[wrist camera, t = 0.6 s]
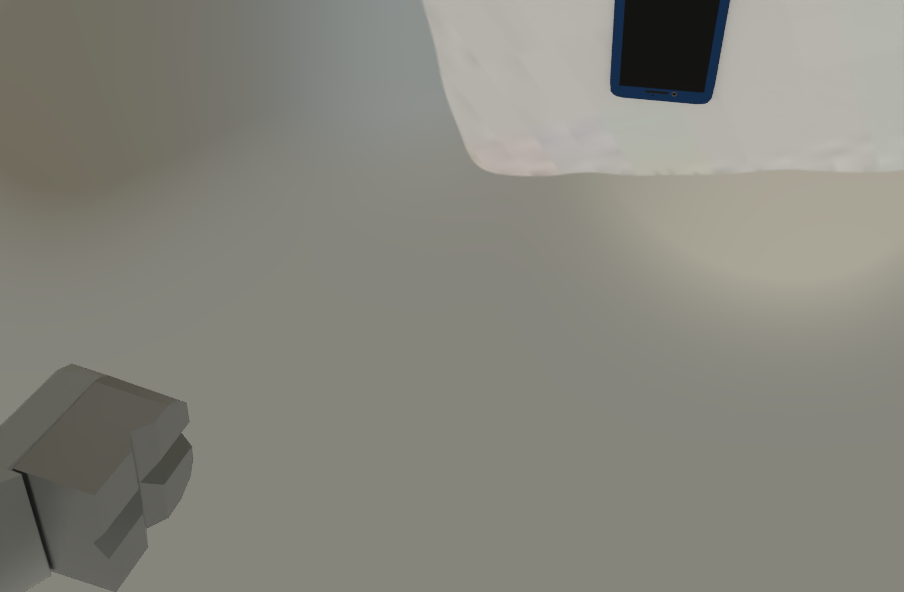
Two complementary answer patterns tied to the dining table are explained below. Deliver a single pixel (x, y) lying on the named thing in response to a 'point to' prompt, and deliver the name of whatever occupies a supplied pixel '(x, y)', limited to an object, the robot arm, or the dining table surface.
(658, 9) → the cell phone
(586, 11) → the dining table surface
